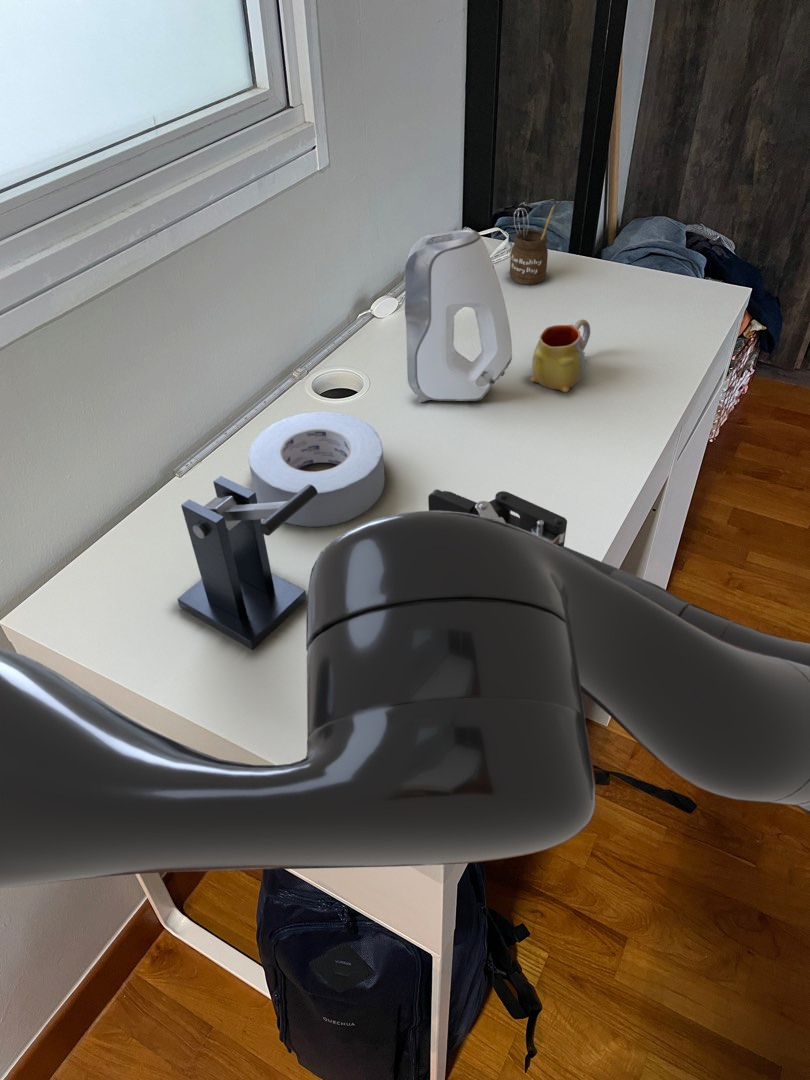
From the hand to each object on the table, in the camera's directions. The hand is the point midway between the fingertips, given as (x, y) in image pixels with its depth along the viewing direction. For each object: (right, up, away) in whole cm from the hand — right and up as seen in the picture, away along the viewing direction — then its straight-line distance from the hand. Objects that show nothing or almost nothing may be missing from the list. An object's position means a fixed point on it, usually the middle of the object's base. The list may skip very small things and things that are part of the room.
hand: (398, 532), depth 60 cm
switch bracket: (-16, -7, +22) cm, 28 cm away
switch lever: (-12, +1, +11) cm, 17 cm away
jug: (+7, +19, +49) cm, 53 cm away
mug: (+23, +23, +53) cm, 62 cm away
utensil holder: (+21, +42, +74) cm, 88 cm away
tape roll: (-10, +6, +36) cm, 38 cm away
